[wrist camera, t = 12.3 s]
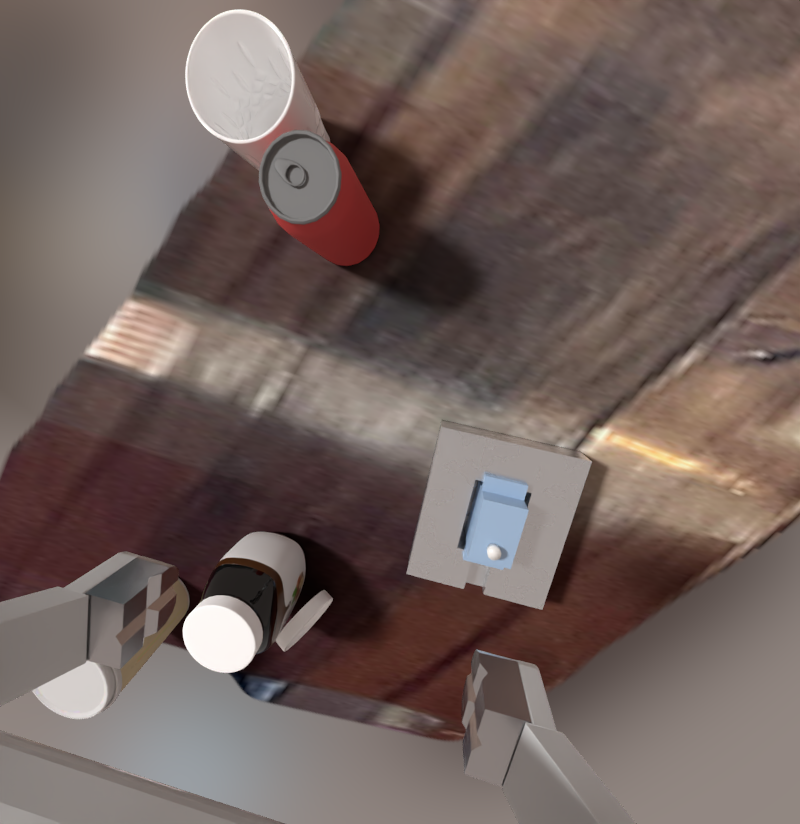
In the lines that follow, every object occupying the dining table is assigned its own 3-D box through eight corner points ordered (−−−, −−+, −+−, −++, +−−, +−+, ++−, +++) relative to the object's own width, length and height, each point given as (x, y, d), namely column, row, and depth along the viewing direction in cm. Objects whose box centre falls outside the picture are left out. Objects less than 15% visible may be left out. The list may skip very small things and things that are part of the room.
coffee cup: (116, 598, 47) (8, 683, 36) (146, 547, 45) (42, 619, 34) (175, 640, 47) (87, 739, 36) (209, 591, 45) (126, 678, 34)
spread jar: (250, 516, 43) (179, 579, 31) (344, 537, 42) (307, 610, 30) (242, 605, 45) (174, 693, 34) (331, 626, 44) (292, 725, 33)
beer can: (335, 179, 35) (280, 97, 23) (393, 218, 35) (367, 156, 23) (302, 243, 36) (233, 196, 25) (357, 280, 36) (316, 251, 25)
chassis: (579, 451, 37) (592, 461, 34) (534, 588, 40) (542, 609, 37) (441, 419, 38) (441, 426, 35) (409, 556, 41) (406, 573, 38)
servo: (521, 474, 37) (535, 498, 31) (498, 552, 39) (507, 588, 33) (482, 465, 37) (489, 487, 32) (461, 543, 39) (464, 577, 34)
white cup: (354, 139, 34) (317, 57, 24) (307, 215, 36) (255, 167, 26) (286, 85, 34) (221, -19, 24) (242, 164, 36) (165, 97, 26)
